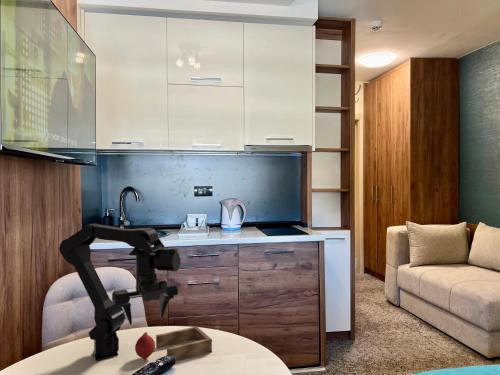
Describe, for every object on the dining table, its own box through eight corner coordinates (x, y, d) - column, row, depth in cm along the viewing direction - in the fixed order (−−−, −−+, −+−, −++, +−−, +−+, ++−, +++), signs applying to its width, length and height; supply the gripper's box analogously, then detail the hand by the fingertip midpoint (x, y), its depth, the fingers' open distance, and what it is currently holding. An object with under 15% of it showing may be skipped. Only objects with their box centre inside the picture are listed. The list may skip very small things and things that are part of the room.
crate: (168, 363, 106) (168, 349, 106) (156, 347, 116) (156, 335, 116) (211, 351, 113) (211, 339, 113) (196, 337, 124) (196, 326, 124)
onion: (149, 364, 105) (148, 336, 105) (131, 362, 106) (131, 335, 106) (158, 355, 110) (158, 329, 111) (141, 354, 112) (141, 328, 112)
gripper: (119, 279, 97) (119, 337, 97) (184, 271, 106) (184, 323, 106) (111, 271, 106) (111, 324, 106) (172, 264, 116) (172, 312, 116)
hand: (146, 321), depth 108 cm, fingers open, 9 cm apart
